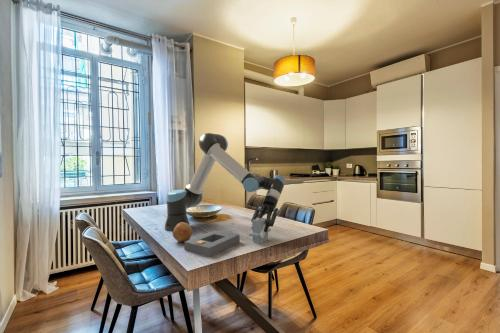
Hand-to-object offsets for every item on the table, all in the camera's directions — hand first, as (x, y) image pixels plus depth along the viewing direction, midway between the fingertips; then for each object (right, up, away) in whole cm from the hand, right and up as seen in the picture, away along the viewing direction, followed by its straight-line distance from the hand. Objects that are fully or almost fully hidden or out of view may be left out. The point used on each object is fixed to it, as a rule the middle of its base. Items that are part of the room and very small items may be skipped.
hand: (256, 236), depth 124 cm
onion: (-38, -4, +5) cm, 39 cm away
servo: (+2, -3, +3) cm, 5 cm away
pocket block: (-21, -4, -3) cm, 22 cm away
